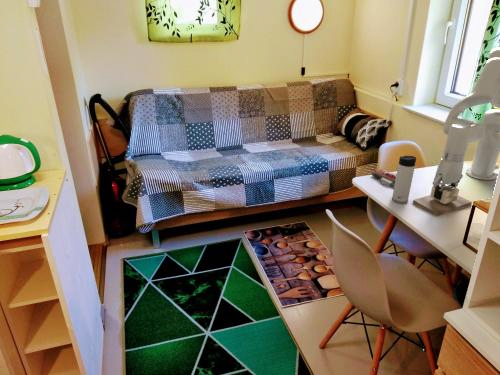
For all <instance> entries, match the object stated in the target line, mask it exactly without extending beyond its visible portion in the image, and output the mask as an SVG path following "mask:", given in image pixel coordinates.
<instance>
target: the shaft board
mask: <svg viewBox="0 0 500 375" xmlns="http://www.w3.org/2000/svg"><path fill="white" fill-rule="evenodd" d="M447 189H451V184H450V185H449V184H447V185H445V186H444V188H443V189H442V190H447ZM430 195H431V194H429V195H427V196H423V197H420V198H419V197H418V198H416V199H413V200H412V204H414V205H415V206H417V207H419V208H421V209H423V210H424V211H426V212H428V213H430V214H432V215H434V216H436V217H439V216H442V215H445V214H448V213H451V212H454V211H458V210H460V209H464V208H468V207H469V206H472V202H473V201H471V200H468V199H467V198H465V197H462V196H461V195H458V196H457V200H456V201H453V202H449V203H446V204H443V203H441V202H439V201H437V200H435V199H433V198H432V197H430Z"/></svg>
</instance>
